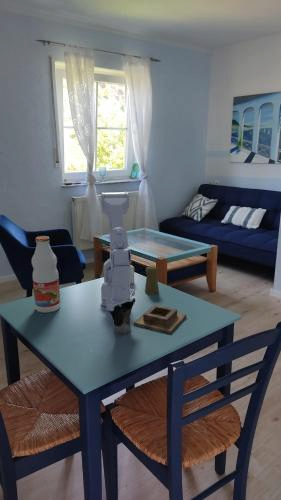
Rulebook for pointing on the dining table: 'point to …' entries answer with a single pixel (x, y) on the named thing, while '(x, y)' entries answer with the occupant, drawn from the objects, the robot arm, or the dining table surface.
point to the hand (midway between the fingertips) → (122, 322)
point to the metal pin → (124, 323)
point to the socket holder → (160, 319)
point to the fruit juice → (45, 277)
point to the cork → (151, 280)
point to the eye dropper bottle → (131, 274)
